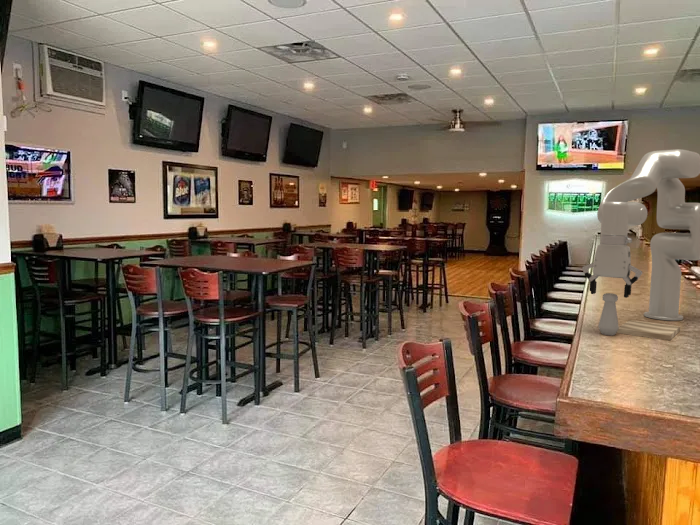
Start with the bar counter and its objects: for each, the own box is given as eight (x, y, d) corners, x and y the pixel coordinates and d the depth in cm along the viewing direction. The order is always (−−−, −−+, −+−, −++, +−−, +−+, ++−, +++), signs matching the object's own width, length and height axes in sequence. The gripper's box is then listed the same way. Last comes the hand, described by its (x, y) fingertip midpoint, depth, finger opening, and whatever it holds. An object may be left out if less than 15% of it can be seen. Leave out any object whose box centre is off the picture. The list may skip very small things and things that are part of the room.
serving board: (629, 324, 183) (629, 319, 183) (679, 330, 174) (680, 326, 174) (616, 332, 170) (616, 328, 170) (669, 340, 160) (670, 335, 160)
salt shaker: (620, 336, 164) (623, 295, 163) (600, 335, 165) (603, 294, 164) (614, 332, 170) (617, 292, 169) (595, 331, 171) (598, 292, 170)
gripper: (647, 242, 162) (642, 297, 163) (587, 239, 173) (584, 291, 175) (641, 242, 156) (637, 299, 158) (580, 240, 167) (577, 293, 169)
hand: (609, 295), depth 166 cm, fingers open, 9 cm apart
